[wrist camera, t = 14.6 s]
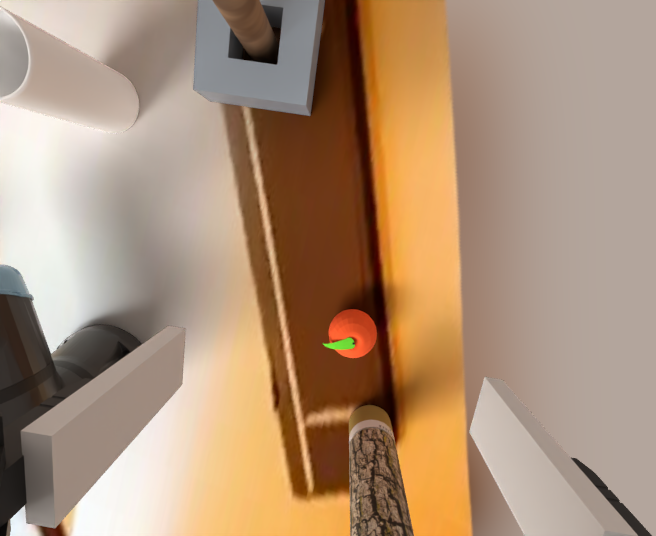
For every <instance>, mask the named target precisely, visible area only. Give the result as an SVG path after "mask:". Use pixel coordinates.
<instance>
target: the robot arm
mask: <svg viewBox="0 0 656 536" xmlns="http://www.w3.org/2000/svg"><path fill="white" fill-rule="evenodd" d="M32 300H34V298H33V296H32V295H31V294H29V292H28V289H27V287H26V284H25V282H24V280H23V277H22V275H21V274H20V272H19V271H18V270H16V269H15V268H13V267H11V266H7V265H0V536H10V531H11V526H10V519H11V518H12V517H13V516H14V515H15V514H16V513H17V512H18V511H19V510H20V509H21V508H22V507H23V506H24V505H25V509H26V523H28V524H34V525H40V526H45V527H51V528H56V527H57V526H58V525H59V523H60V522H61V521H62V520H63V519H64V518H65V517H66V516H67V514H68V513H69V512H70V511H71V510H72V509H73V508H74V506H75V505H76V504H77V503H78V502H79V501H80V500H81V499H82V497H83V496H84V495H85V494H86V493H87V492H88V491H89V489H90V488H91V487H92V486H93V485H94V484H95V483H96V482H97V480H98V479H99V478H100V477H101V476H102V475H103V474H104V473H105V471H106V470H107V469H108V468H109V467H110V466H111V465H112V463H113V462H114V461H115V460H116V459H117V458H118V457H119V456H120V454H121V453H122V452H123V451H124V450H125V449H126V448H127V446H128V445H129V444H130V443H131V442H132V441H133V440H134V439H135V437H136V436H137V435H138V434H139V433H140V432H141V431H142V430H143V428H144V427H145V426H146V425H147V424H148V423H149V422H150V420H151V419H152V418H153V417H154V416H155V415H156V414H157V413H158V411H159V410H160V409H161V408H162V407H163V406H164V405H165V403H166V402H167V401H168V400H169V399H170V398H171V397H172V396H173V394H174V393H175V392H176V391H177V390H178V389H179V388H180V386H181V385H182V380H183V363H184V346H185V329H186V328H180V327H174V326H167V327H166V328H164V329H163V330H162V331H160V332H159V333H157V334H156V335H155V336H153V337H152V338H150V339H149V340H148V341H146V342H145V343H143V344H141V343H140V342H139V341H138V340H137V339H136V338H135V337H134V336H132V335H131V334H129V333H128V332H126V331H124V330H122V329H120V328H117V327H114V326H109V325H94V326H89V327H86V328H84V329H82V330H80V331H78V332H76V333H74V334H72V335H70V336H69V337H67V338H66V339H65V340H64V341H63V342H62V343H61V344H60V345H59V346H58V348H57V350H56V351H54V352H53V353H52V354H51V353H50V350H49V347H48V345H47V342H46V339H45V336H44V333H43V331H42V328H41V325H40V322H39V319H38V316H37V314H36V311H35V308H34V305H33V302H32ZM469 432H470V434H471V436H472V438H473V440H474V442H475V444H476V445H477V447H478V449H479V451H480V453H481V455H482V457H483V459H484V460H485V462H486V464H487V466H488V468H489V470H490V471H491V473H492V476H493V477H494V479H495V481H496V483H497V485H498V487H499V489H500V490H501V492H502V494H503V496H504V498H505V500H506V502H507V504H508V506H509V507H510V509H511V511H512V513H513V515H514V517H515V519H516V521H517V522H518V524H519V526H520V528H521V530H522V532H523V534H524V536H652V535H651V534H650V533H649V532H648V531H647V530H646V529H645V528H644V527H643V525H642V524H641V523H640V522H639V521H638V520H637V519H636V518H635V517H634V516H633V514H632V513H631V512H630V511H629V510H628V509H627V508H626V507H625V506H624V505H623V504H622V503H620V502H619V499H618V498H617V497H616V496H615V495H614V494H613V493H612V492H611V490H608V487H607V486H606V485H605V484H604V483H603V481H602V480H601V479H600V478H599V477H598V476H597V475H596V474H595V473H594V472H593V471H592V470H591V469H589V468H588V467H587V466H585V465H584V464H583V463H581V462H580V461H579V460H577V459H576V458H570V457H569V456H568V455H567V453H566V452H565V451H564V450H563V449H562V448H561V446H560V445H559V444H558V443H557V442H556V441H555V440H554V438H553V437H552V436H551V435H550V434H549V433H548V431H547V430H546V429H545V428H544V427H543V426H542V425H541V423H540V422H539V421H538V420H537V419H536V418H535V417H534V415H533V414H532V413H531V412H530V411H529V410H528V408H527V407H526V406H525V405H524V404H523V403H522V402H521V400H520V399H519V398H518V397H517V396H516V395H515V393H514V392H513V391H512V390H511V389H510V388H509V387H508V385H507V384H506V383H505V382H504V381H503V380H501V379H495V378H489V377H485V378H484V381H483V385H482V388H481V392H480V395H479V399H478V403H477V406H476V410H475V413H474V417H473V421H472V424H471V428H470V431H469Z"/></svg>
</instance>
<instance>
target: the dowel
mask: <svg viewBox="0 0 656 536" xmlns="http://www.w3.org/2000/svg"><path fill="white" fill-rule="evenodd" d="M212 1H213V2H214V4H215V5H216V7H217V8H218V10H219V11H220V13H221V14H222V16H223V17H224V19H225V20H226V22H227V23H228V25H229V26H230V28H231V29H232V31H233V32H234V34H235V35H236V37H237V38H238V40H239V41H240V43H241V44H242V46H243V47H244V49H245V50H246V52H247V53H248V55H249V56H250V58H251V59H252V61H254V62H261V63H268V64H275V65H276V64H277V63H278V54H279V44H278V42H277V39H276V37H275V35H274V32H273V30H272V28H271V26H270V23H269V21H268V19H267V16H266V14H265V12H264V9H263V7H262V5H261V2H260V0H212Z"/></svg>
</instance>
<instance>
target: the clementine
mask: <svg viewBox="0 0 656 536" xmlns="http://www.w3.org/2000/svg"><path fill="white" fill-rule="evenodd" d="M376 337H377V330H376V326H375V324H374V321H373V320H372V319H371V317H370V316H369V315H368V314H366V313H365V312H363V311H360V310H357V309H348V310H345V311H342V312H340V313H339V314H337V315H336V316H335V318H334V319H333V320H332V322H331V324H330V327H329V339H330V342H331V343H330V344H324V343H322V344H323V345H324V346H326V347H328V348H331V349H335V350H336V351H337V352H338V353H340V354H341V355H343V356H345V357H349V358H358V357H361V356H364V355H365V354H367V353H368V352H369V351H370V350H371V349H372V348H373V346H374V344H375V342H376Z"/></svg>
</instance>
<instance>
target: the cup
mask: <svg viewBox="0 0 656 536" xmlns="http://www.w3.org/2000/svg"><path fill="white" fill-rule="evenodd" d="M0 103H4V104H7V105H11V106H14V107H18V108H21V109H25V110H28V111H32V112H36V113H39V114H43V115H46V116H50V117H53V118H57V119H60V120H64V121H68V122H71V123H75V124H78V125H82V126H85V127H89V128H93V129H96V130H100V131H103V132H107V133H113V134H115V133H121V132H124V131H126V130H128V129H129V128H130V127H131V126H132V125H133V124H134V123H135V121H136V119H137V116H138V113H139V99H138V95H137V92H136V90H135V88H134V86H133V84H132V83H131V82H130V81H129V80H128V79H127V78H126V77H125V76H124V75H122V74H121V73H119V72H117V71H115V70H114V69H112V68H110V67H108V66H106V65H105V64H103V63H101V62H99V61H97V60H96V59H94V58H92V57H90V56H89V55H87V54H85V53H83V52H81V51H80V50H78V49H76V48H74V47H72V46H71V45H69V44H67V43H65V42H64V41H62V40H60V39H58V38H56V37H55V36H53V35H51V34H49V33H47V32H46V31H44V30H42V29H40V28H39V27H37V26H35V25H33V24H31V23H30V22H28V21H26V20H24V19H22V18H21V17H19V16H17V15H15V14H13V13H12V12H10V11H8V10H6V9H4V8H2V7H1V6H0Z"/></svg>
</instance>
